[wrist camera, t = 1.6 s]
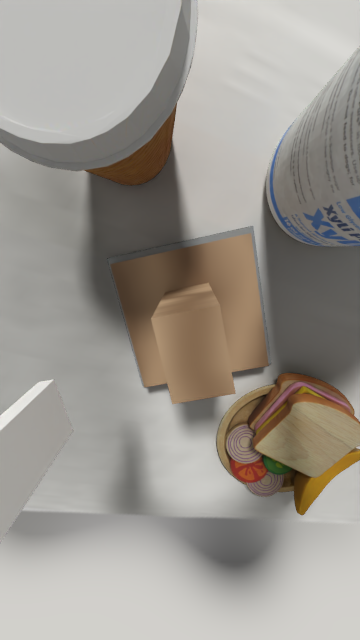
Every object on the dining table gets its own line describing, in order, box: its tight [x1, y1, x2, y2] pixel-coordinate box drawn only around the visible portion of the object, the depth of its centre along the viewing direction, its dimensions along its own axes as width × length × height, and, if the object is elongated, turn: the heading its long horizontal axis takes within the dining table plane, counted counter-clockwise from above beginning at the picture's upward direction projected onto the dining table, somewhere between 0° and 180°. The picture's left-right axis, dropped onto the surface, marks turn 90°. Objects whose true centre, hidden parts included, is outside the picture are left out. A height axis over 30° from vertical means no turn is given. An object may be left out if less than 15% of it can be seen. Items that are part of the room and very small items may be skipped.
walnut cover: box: [110, 233, 269, 404], centre depth 18 cm, size 11×11×9 cm
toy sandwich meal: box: [217, 373, 360, 515], centre depth 24 cm, size 12×14×5 cm
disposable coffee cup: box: [0, 0, 198, 185], centre depth 14 cm, size 10×10×12 cm
